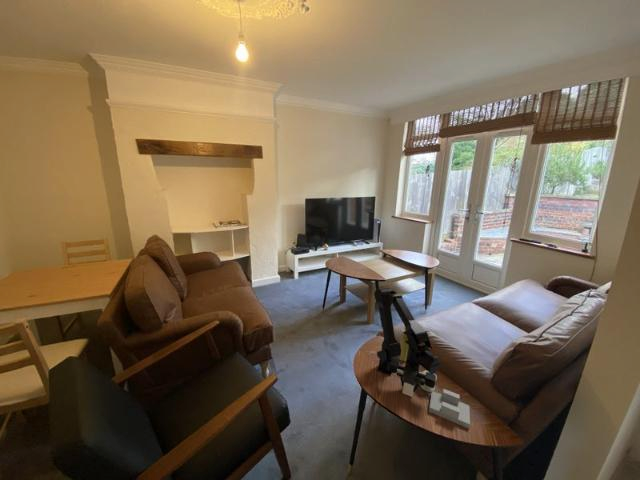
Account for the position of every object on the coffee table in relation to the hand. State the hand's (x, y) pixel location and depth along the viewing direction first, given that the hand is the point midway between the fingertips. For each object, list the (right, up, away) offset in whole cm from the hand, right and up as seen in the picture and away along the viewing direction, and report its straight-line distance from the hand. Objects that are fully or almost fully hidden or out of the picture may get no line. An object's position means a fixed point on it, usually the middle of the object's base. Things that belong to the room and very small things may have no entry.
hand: (408, 389), depth 112 cm
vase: (+5, +3, +23) cm, 24 cm away
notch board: (+14, -4, -8) cm, 16 cm away
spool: (+10, -1, +4) cm, 11 cm away
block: (0, -1, 0) cm, 1 cm away
